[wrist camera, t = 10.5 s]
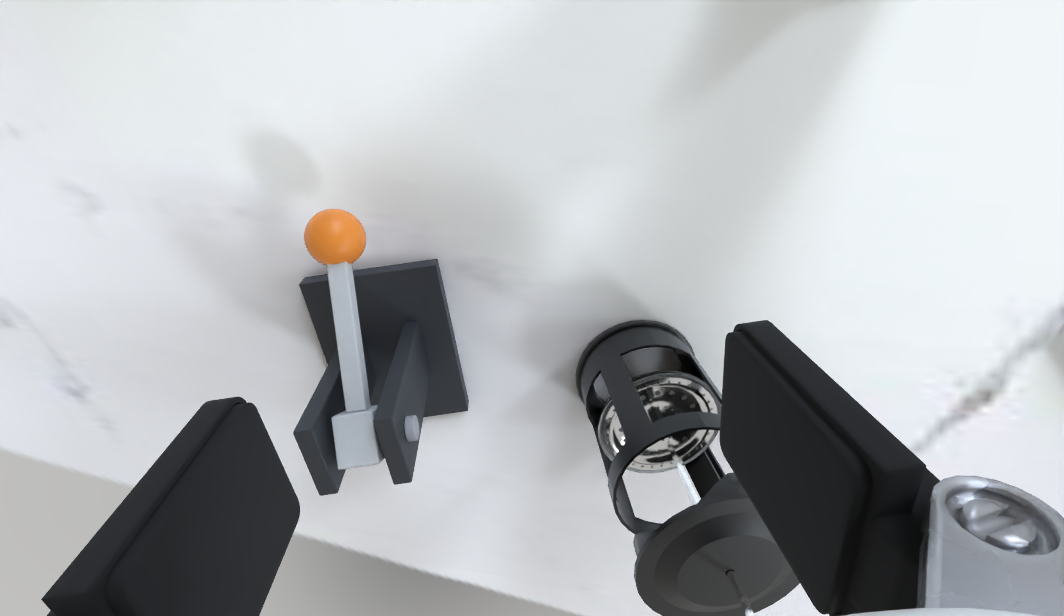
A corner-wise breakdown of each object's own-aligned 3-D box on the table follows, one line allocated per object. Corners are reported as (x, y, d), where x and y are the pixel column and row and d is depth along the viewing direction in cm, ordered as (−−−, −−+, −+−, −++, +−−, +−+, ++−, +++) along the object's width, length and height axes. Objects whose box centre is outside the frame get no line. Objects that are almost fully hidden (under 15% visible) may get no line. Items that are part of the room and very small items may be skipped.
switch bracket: (304, 277, 34) (221, 375, 23) (437, 258, 34) (415, 347, 23) (354, 418, 39) (304, 549, 29) (468, 401, 39) (461, 526, 29)
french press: (545, 367, 38) (611, 720, 18) (642, 289, 36) (846, 590, 16) (635, 450, 43) (773, 808, 22) (727, 384, 41) (974, 717, 20)
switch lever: (315, 219, 30) (289, 207, 26) (369, 212, 30) (350, 198, 26) (346, 457, 29) (325, 474, 26) (401, 449, 29) (386, 464, 26)
